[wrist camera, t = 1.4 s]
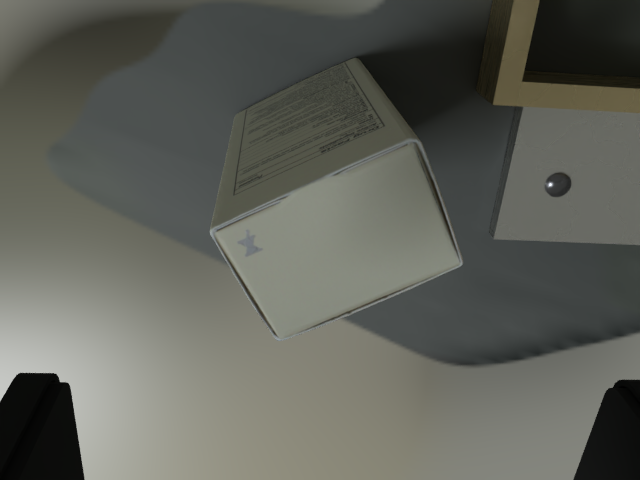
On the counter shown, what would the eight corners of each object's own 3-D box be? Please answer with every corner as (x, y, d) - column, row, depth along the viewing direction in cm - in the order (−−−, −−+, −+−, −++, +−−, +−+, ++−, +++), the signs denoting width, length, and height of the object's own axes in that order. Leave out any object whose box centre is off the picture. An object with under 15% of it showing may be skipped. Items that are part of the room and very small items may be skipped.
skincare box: (274, 193, 29) (267, 352, 18) (232, 112, 27) (194, 234, 16) (399, 138, 28) (472, 271, 17) (364, 50, 26) (420, 135, 15)
